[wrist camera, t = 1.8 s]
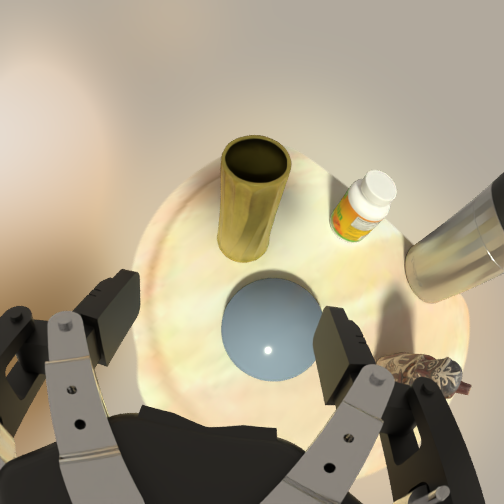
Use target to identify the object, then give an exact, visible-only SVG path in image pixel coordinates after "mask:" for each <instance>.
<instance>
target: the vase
mask: <svg viewBox="0 0 504 504" xmlns="http://www.w3.org/2000/svg"><path fill="white" fill-rule="evenodd" d="M290 170H291V159H290V156H289V154H288V152H287V150H286V149H285V148H284V147H283V146H282V145H281V144H280V143H279V142H277V141H275V140H273V139H270V138H268V137H265V136H260V135H249V136H244V137H240V138H237V139H235V140H233V141H231V142H230V143H229V144H228V145H227V146H226V148H225V149H224V151H223V153H222V157H221V168H220V175H221V204H220V217H219V227H218V235H217V241H218V245H219V248H220V250H221V251H222V253H223V254H224V255H225V256H226V257H228V258H229V259H231V260H233V261H236V262H242V263H244V262H251V261H254V260H257V259H258V258H260V257H261V256H262V255H263V254H264V253H265V252H266V250H267V248H268V245H269V236H270V232H271V229H272V225H273V222H274V219H275V215H276V212H277V209H278V206H279V203H280V200H281V197H282V194H283V191H284V188H285V185H286V182H287V179H288V177H289V173H290Z"/></svg>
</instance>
